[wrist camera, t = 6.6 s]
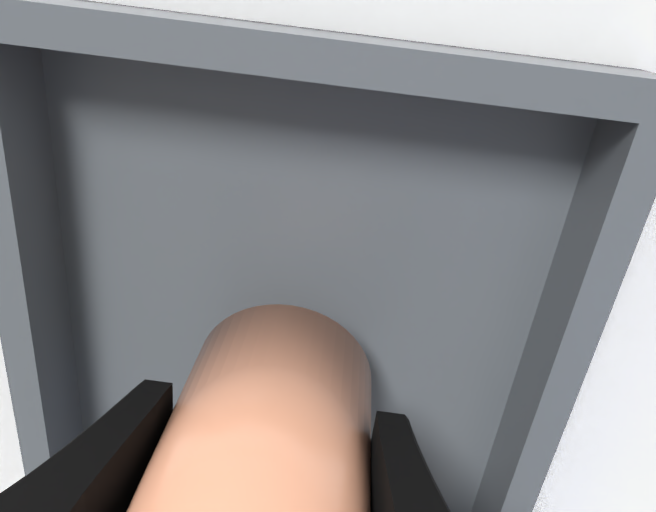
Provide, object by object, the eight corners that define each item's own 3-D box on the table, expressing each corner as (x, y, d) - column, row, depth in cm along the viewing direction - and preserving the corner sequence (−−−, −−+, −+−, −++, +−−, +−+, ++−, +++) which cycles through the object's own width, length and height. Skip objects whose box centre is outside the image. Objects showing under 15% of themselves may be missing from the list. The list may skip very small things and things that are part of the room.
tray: (639, 69, 12) (699, 84, 10) (474, 550, 19) (488, 622, 17) (14, -9, 12) (-62, -10, 10) (77, 495, 19) (40, 559, 17)
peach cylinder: (385, 319, 13) (395, 650, 6) (357, 452, 15) (345, 802, 9) (199, 291, 13) (32, 596, 7) (197, 428, 15) (69, 759, 9)
